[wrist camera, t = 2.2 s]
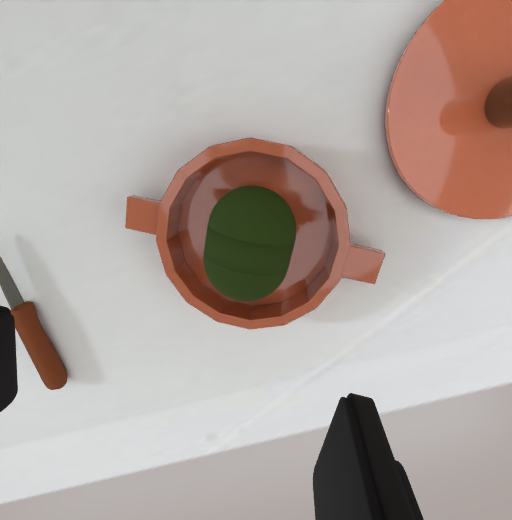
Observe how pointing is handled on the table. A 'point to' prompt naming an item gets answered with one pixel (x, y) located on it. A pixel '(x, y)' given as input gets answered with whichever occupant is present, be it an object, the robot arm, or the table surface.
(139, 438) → the table surface
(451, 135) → the lid
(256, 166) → the pot
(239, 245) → the avocado
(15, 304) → the kitchen knife
